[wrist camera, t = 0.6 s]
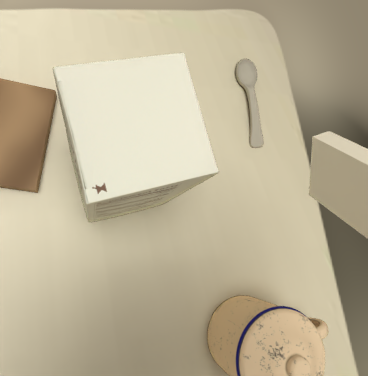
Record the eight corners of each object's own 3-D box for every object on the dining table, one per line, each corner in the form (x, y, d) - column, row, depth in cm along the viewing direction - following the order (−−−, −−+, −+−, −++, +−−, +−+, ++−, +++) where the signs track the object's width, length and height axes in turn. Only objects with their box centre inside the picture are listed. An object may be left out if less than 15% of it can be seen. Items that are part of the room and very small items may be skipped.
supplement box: (167, 204, 38) (224, 178, 22) (87, 224, 35) (86, 212, 19) (146, 126, 39) (187, 47, 23) (66, 140, 36) (49, 61, 20)
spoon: (250, 62, 45) (258, 55, 43) (262, 148, 44) (270, 145, 42) (231, 62, 44) (237, 55, 42) (242, 149, 43) (249, 146, 41)
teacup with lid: (214, 387, 36) (269, 451, 25) (196, 305, 37) (241, 333, 26) (303, 350, 40) (384, 393, 29) (284, 277, 41) (357, 290, 30)
